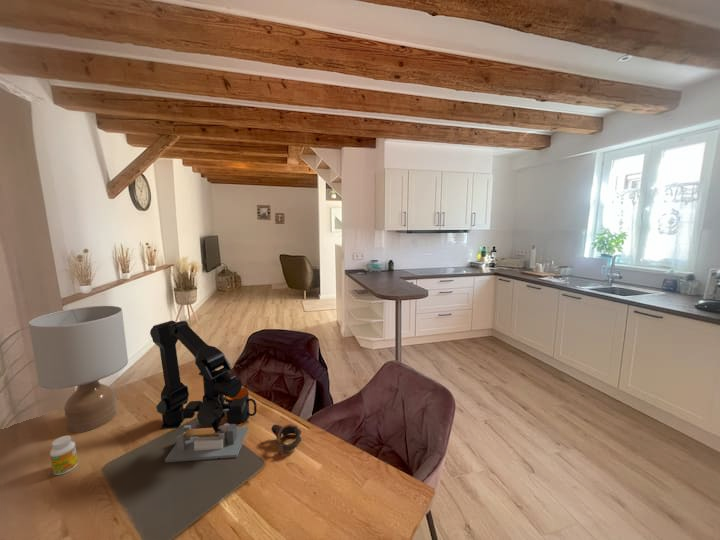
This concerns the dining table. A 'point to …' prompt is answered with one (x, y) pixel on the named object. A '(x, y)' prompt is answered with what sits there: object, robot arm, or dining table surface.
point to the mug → (245, 414)
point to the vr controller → (285, 431)
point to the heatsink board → (208, 445)
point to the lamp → (81, 360)
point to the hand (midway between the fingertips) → (216, 430)
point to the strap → (204, 431)
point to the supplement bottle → (63, 455)
